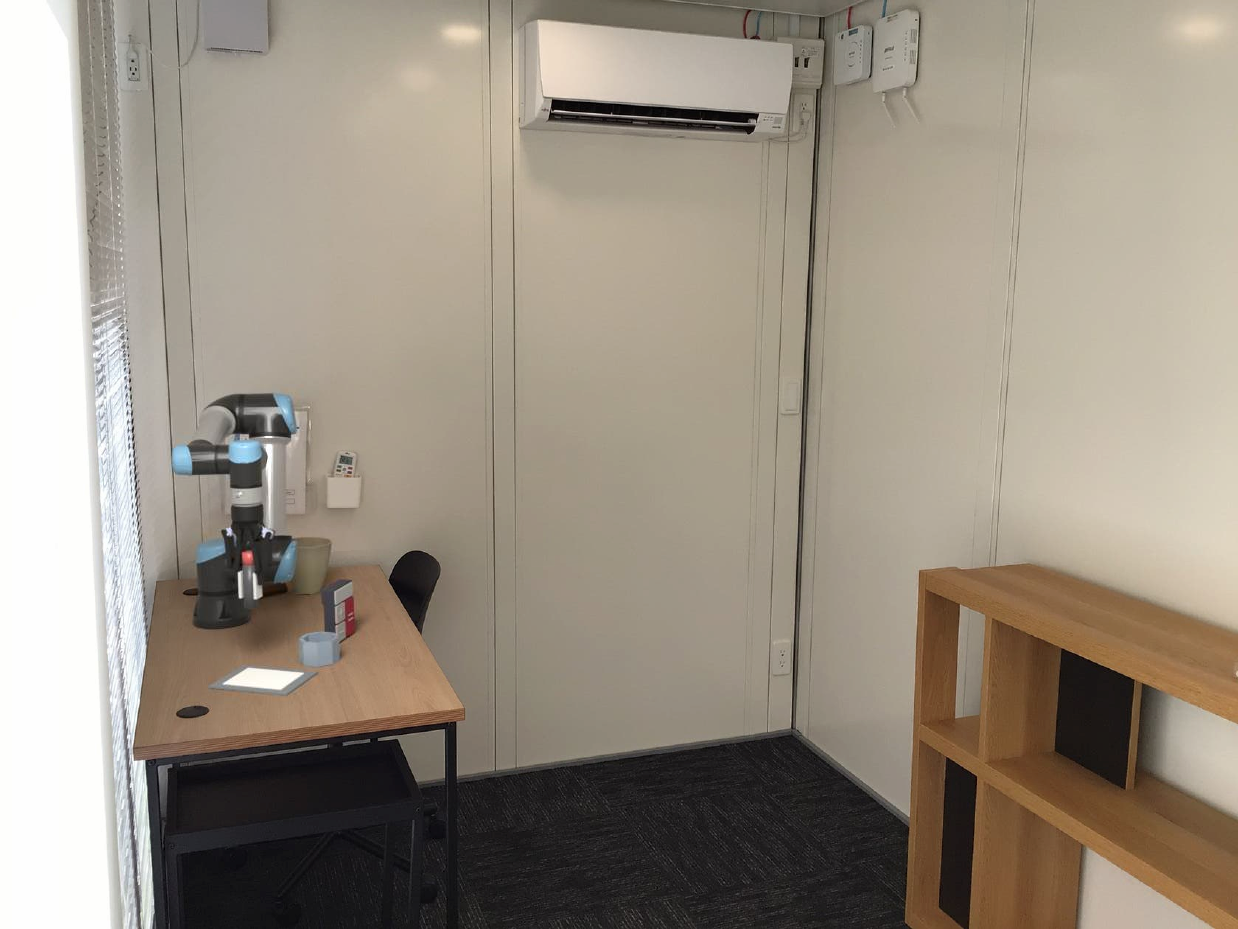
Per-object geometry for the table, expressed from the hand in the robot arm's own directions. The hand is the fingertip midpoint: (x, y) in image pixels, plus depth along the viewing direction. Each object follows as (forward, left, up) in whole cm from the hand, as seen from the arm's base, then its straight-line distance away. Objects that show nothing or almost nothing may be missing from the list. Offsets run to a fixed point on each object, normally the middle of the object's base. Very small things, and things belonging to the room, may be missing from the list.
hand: (250, 597), depth 255 cm
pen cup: (+15, +6, -17) cm, 23 cm away
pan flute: (-41, +56, -18) cm, 72 cm away
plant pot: (-18, +62, -17) cm, 67 cm away
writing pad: (+9, -10, -17) cm, 22 cm away
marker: (0, 0, -3) cm, 3 cm away
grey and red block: (+12, +23, -17) cm, 31 cm away
